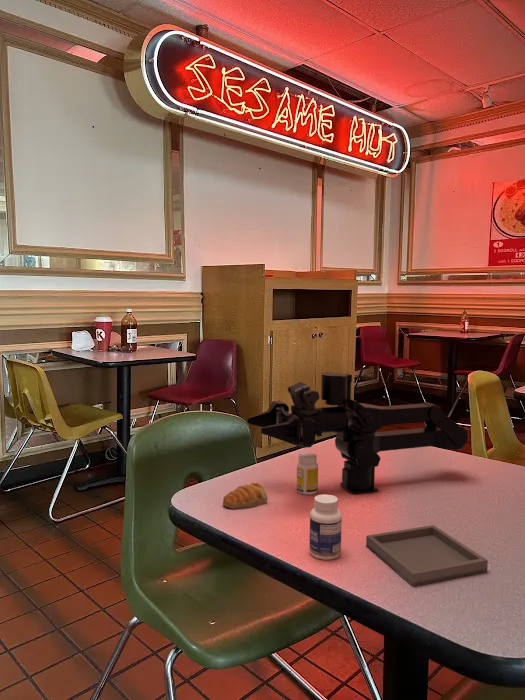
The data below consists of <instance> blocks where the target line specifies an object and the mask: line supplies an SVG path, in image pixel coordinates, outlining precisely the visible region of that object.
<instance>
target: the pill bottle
mask: <svg viewBox="0 0 525 700" xmlns="http://www.w3.org/2000/svg"><path fill="white" fill-rule="evenodd" d="M313 505H314V507H313V508H312V509H311V510H310V513H309V554H310V555H312V556H313V557H314V558H316V559H317V560H318V559H319V560H325V561H326V560H327V561H328V560H329V561H331V560H335V559H337V558H338V557H339V556H340V555H341V551H342V523H343V522H342V521H343V519H342V517H343V516H342V512H341V511H340V510H339V509H338V508H339V498H338V497H337V496H335V495H331V494H318V495H315V497H314V500H313Z"/></svg>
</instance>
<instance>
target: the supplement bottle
mask: <svg viewBox="0 0 525 700" xmlns="http://www.w3.org/2000/svg"><path fill="white" fill-rule="evenodd" d="M317 456H318V455H317V454H316V453H314V452H300V453H299V454H298V462H297V464H296V492H297V493H299V494H300V495H314V494H316V493H318V491H319V465H318V464H319V463H317V461H318V460H317V459H318V458H317Z"/></svg>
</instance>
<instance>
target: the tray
mask: <svg viewBox="0 0 525 700" xmlns="http://www.w3.org/2000/svg"><path fill="white" fill-rule="evenodd" d="M365 537H366V539H365V540H366V541H365V542H366V543H365V547H366V548H367V549H369V551H371V552H372V553H373V554H374V555H375V554H376V555H375V556H377V558H379V559H380V560H381V561H382V562H383V563H384V564H385V565H387V566H388V567H389V568H390V569H392V570H393V572H394V573H396V574H397V575H399V577H401V578H402V579H403V580H405V582H406V583H408V584H409V585H410V586H411V587H413V588H414V587H417V586H423V585H428V584H433V583H438V582H442V581H443V582H444V581H448V580H453V579H458V578H465V577H470V576H475V575H479V574H485V573H488V564H489V563H488V559H487V558H485V557H484V556H482V555H481V554H479V553H477V552H476V551H474V550H473V549H471V548H469V547H468V546H466V544H463V543H462V542H460V541H459V540H457V539H456V538H454V537H453V536H451V535H449V534H448V533H446V532H445V531H444V530H442V529H440V528H439V527H437V526H436V525H434V524H432V525H426V526H421V527H420V526H419V527H414V528H413V527H412V528H407V529H406V528H405V529H401V530H393V531H387V532H381V533H374V534H373V533H372V534H367V535H366V536H365Z"/></svg>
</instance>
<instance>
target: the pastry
mask: <svg viewBox="0 0 525 700" xmlns="http://www.w3.org/2000/svg"><path fill="white" fill-rule="evenodd" d="M268 497H269V496H268V495H267V492H266V490H265V488H264V486H263V484H262V483H260V482H251V483H250V484H244V485H239V486H237V487H236V488H235V489H234V490H233V491H230V492H228V493H227V494H226V495H225V496H224V497H223V499H222V500H223V502H222V505H223V506H225V507H226V508H229V509H233V510H238V509H248V508H252V507H257V506H261V505H263V504H264V505H265V504H266V502H267V501H268Z"/></svg>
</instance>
